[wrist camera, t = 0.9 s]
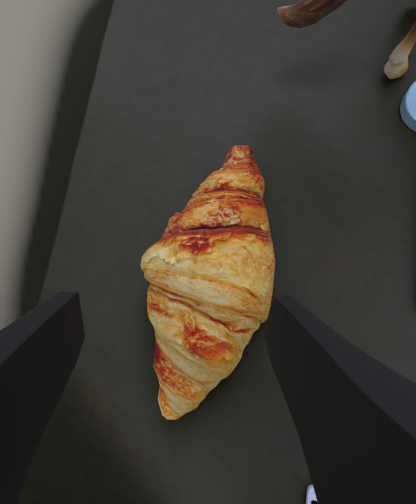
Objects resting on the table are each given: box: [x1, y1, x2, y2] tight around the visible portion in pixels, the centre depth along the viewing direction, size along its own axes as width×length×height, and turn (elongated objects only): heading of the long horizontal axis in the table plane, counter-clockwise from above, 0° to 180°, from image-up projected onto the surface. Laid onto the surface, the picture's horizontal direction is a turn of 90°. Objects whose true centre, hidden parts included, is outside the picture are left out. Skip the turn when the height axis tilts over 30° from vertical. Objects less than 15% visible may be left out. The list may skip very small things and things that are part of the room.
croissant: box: [141, 145, 275, 420], centre depth 20 cm, size 21×10×8 cm, turn 165°
